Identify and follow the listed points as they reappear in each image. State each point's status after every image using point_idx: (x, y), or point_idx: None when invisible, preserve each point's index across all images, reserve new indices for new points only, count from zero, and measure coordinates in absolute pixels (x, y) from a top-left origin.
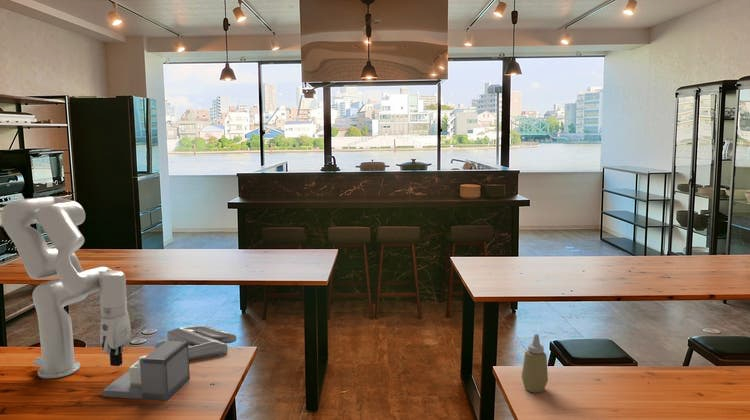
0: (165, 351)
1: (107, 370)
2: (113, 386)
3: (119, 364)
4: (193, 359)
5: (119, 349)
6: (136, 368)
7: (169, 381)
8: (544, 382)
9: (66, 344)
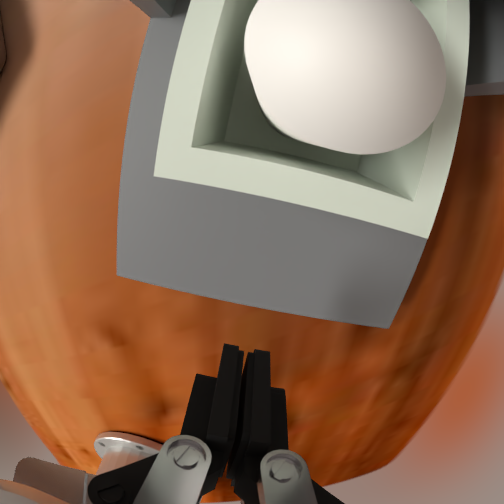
0: None
1: (107, 365)
2: (356, 292)
3: (269, 359)
4: (1, 27)
5: (204, 480)
6: (447, 150)
7: None
8: None
9: None
